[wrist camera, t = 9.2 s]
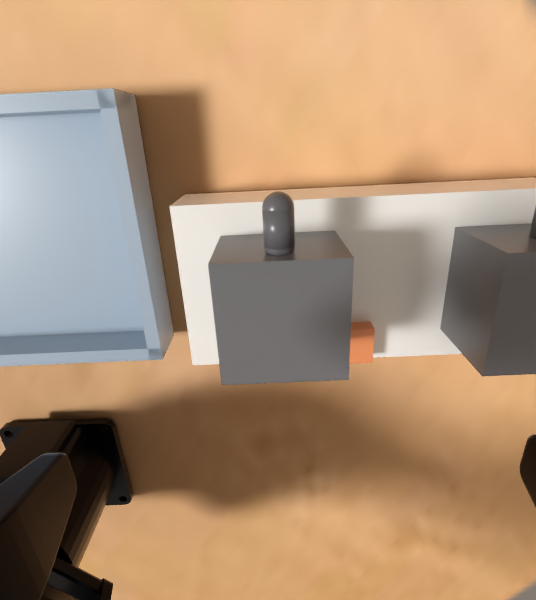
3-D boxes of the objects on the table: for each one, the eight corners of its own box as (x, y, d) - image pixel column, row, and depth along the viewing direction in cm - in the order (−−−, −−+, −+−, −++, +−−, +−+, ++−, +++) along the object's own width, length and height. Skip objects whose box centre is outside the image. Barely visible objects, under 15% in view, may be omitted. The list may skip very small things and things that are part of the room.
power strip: (514, 319, 20) (622, 400, 14) (202, 333, 20) (176, 418, 14) (560, 120, 16) (736, 112, 10) (177, 139, 16) (126, 143, 10)
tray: (173, 334, 20) (162, 359, 18) (-74, 345, 20) (-116, 371, 18) (134, 94, 16) (113, 88, 13) (-182, 111, 16) (-255, 107, 14)
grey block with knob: (324, 307, 19) (348, 379, 13) (234, 311, 19) (221, 384, 13) (326, 172, 16) (356, 192, 11) (222, 177, 16) (200, 200, 11)
